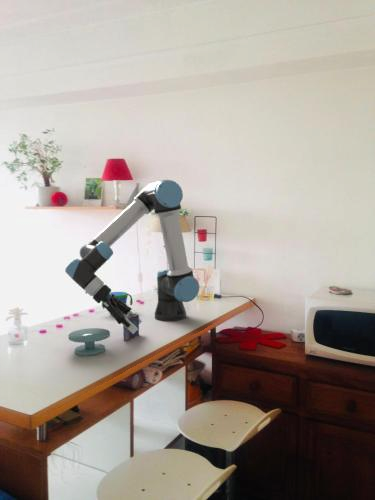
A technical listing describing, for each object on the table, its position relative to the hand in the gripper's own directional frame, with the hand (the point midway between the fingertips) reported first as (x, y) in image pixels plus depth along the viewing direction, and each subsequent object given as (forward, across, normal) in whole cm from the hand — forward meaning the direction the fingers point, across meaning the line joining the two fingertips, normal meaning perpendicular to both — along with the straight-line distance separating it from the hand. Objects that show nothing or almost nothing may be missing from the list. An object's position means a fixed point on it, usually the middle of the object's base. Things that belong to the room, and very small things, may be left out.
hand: (137, 327), depth 180 cm
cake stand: (-8, +16, -14) cm, 23 cm away
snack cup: (-8, -42, -14) cm, 45 cm away
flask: (+1, 0, -5) cm, 5 cm away
